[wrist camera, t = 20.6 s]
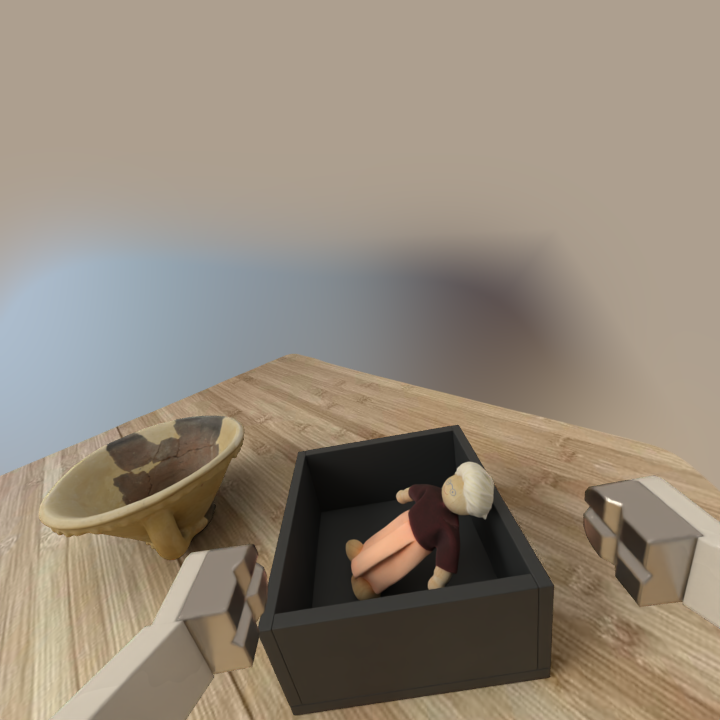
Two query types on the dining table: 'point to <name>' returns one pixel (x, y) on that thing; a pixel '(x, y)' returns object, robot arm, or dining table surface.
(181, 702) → the robot arm
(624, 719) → the dining table surface
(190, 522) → the bowl
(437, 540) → the grandmother figurine
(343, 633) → the open square box
